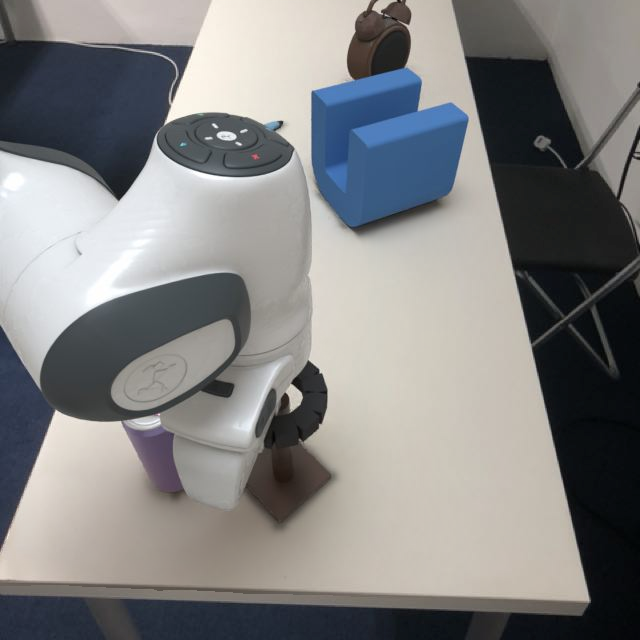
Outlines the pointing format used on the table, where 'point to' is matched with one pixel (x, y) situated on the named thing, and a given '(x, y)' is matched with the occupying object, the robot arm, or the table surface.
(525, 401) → the table surface
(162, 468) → the beverage can
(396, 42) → the alarm clock
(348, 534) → the table surface
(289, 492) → the post
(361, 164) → the block
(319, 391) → the ring
